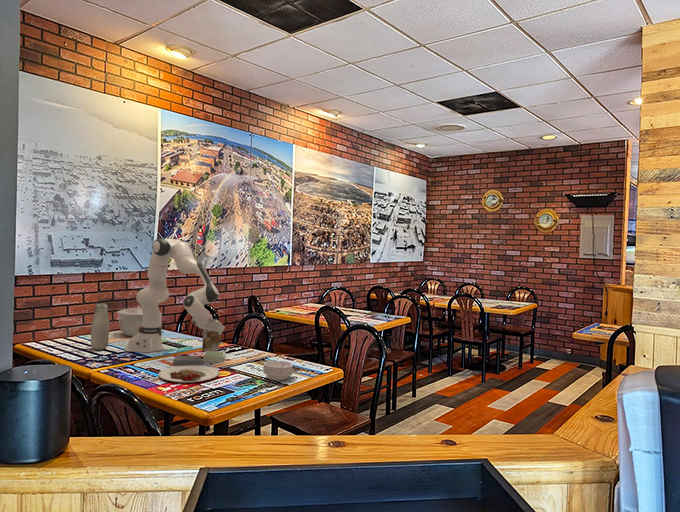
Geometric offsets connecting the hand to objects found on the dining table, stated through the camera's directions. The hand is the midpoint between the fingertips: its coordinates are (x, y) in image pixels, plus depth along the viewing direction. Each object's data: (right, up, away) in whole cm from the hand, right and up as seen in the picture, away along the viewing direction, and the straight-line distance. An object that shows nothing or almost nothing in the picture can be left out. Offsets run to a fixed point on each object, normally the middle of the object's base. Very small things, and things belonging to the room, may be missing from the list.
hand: (216, 333), depth 289 cm
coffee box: (-10, -14, +23) cm, 29 cm away
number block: (-1, -6, 0) cm, 6 cm away
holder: (-1, -15, 0) cm, 15 cm away
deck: (-13, -15, -12) cm, 24 cm away
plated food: (-5, -17, -36) cm, 40 cm away
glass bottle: (-73, -11, +8) cm, 74 cm away
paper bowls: (+40, -19, -32) cm, 55 cm away
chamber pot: (-69, -10, +56) cm, 89 cm away
